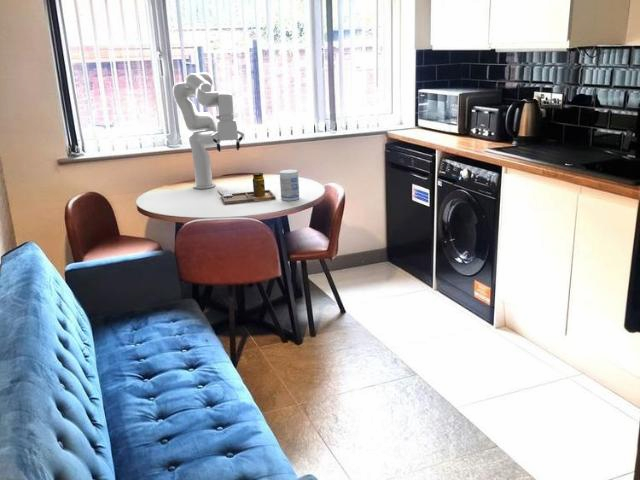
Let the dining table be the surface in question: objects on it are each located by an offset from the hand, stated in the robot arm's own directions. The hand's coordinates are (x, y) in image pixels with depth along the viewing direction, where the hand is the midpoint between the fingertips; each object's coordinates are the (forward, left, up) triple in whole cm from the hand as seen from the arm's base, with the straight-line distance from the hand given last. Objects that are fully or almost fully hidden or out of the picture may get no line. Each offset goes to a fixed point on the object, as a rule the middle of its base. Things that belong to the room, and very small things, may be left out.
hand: (228, 150), depth 310 cm
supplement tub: (+19, +28, -25) cm, 42 cm away
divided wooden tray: (+8, +7, -25) cm, 27 cm away
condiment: (+8, +12, -24) cm, 28 cm away
